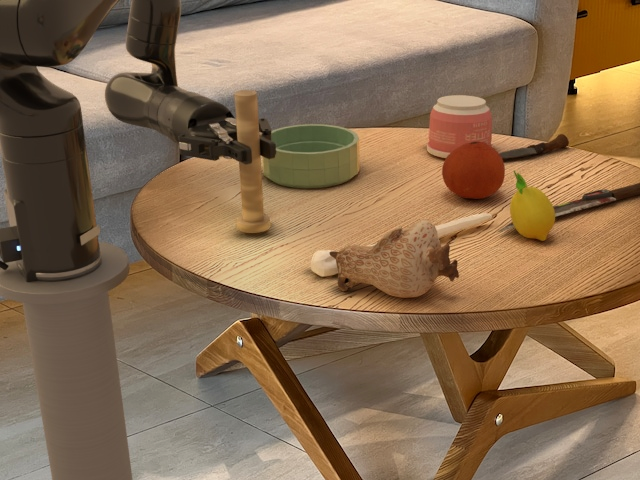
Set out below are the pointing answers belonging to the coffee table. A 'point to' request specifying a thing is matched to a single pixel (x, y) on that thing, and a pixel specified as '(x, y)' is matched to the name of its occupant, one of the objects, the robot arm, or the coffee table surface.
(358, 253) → the figurine
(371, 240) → the coffee table surface
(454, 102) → the container
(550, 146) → the knife
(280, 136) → the bowl
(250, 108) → the stick
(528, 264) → the coffee table surface
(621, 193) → the knife
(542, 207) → the lemon
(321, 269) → the cream knobbed rod
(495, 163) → the fruit
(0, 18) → the robot arm
